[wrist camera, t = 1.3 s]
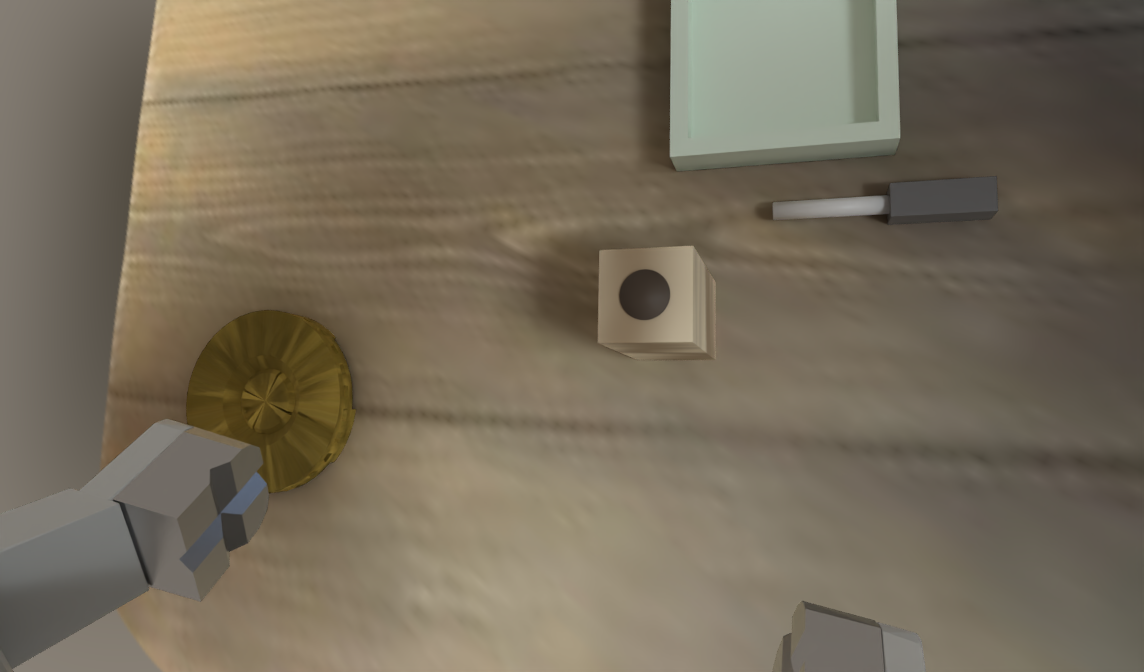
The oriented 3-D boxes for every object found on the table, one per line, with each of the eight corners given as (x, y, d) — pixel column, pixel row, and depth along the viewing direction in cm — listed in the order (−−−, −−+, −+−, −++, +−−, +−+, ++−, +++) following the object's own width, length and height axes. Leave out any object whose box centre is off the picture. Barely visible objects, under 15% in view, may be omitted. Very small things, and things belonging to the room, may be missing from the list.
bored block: (715, 282, 44) (692, 245, 35) (715, 359, 43) (692, 341, 35) (637, 284, 45) (596, 249, 37) (636, 360, 45) (595, 342, 36)
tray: (889, -50, 43) (894, -78, 41) (895, 154, 42) (900, 137, 39) (678, -18, 47) (671, -42, 44) (677, 171, 45) (669, 156, 43)
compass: (194, 352, 55) (170, 349, 53) (332, 288, 52) (312, 282, 50) (232, 515, 52) (208, 518, 50) (379, 456, 49) (360, 457, 47)
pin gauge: (988, 186, 40) (996, 176, 39) (989, 219, 40) (998, 210, 38) (773, 200, 43) (772, 190, 42) (773, 230, 43) (772, 222, 42)
